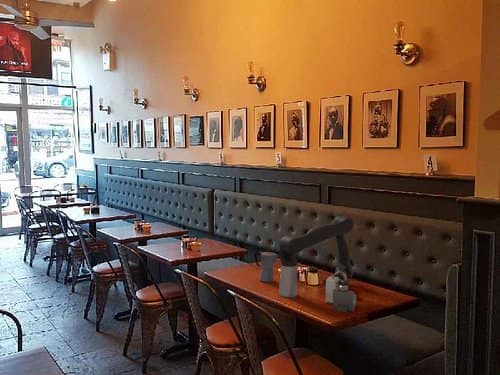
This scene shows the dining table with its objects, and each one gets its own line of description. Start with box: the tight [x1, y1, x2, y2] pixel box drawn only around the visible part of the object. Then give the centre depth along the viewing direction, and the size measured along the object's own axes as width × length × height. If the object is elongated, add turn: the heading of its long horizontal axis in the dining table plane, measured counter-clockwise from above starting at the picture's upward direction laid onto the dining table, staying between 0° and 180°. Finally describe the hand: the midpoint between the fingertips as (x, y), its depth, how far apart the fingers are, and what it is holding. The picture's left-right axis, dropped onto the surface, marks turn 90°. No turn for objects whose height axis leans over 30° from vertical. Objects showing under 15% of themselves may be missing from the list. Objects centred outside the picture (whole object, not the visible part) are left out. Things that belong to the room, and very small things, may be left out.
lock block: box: [324, 275, 339, 304], centre depth 257 cm, size 5×10×12 cm, turn 159°
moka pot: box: [253, 249, 279, 283], centre depth 295 cm, size 10×15×20 cm, turn 81°
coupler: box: [331, 285, 357, 313], centre depth 244 cm, size 10×12×12 cm
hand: (333, 285), depth 261 cm, fingers open, 8 cm apart
